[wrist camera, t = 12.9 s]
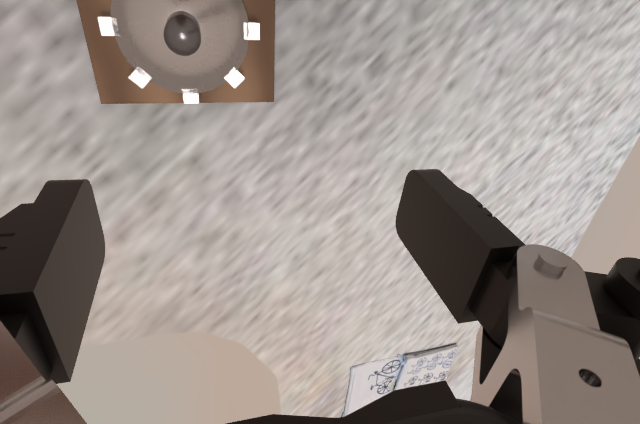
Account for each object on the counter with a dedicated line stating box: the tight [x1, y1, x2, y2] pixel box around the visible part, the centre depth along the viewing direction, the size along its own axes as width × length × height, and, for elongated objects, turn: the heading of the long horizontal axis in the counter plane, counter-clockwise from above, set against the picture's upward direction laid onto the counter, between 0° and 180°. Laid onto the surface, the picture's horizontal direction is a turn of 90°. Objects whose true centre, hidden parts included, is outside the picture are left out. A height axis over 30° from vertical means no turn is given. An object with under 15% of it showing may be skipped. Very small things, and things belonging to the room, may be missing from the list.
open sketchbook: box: [342, 345, 458, 417], centre depth 71 cm, size 19×20×2 cm
